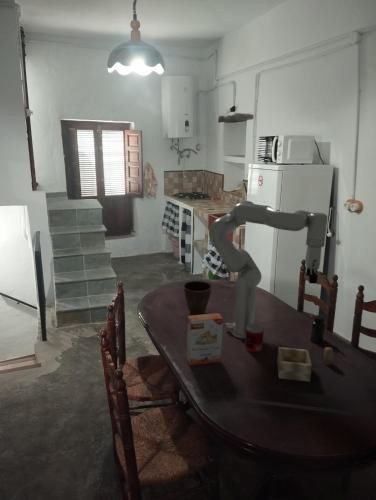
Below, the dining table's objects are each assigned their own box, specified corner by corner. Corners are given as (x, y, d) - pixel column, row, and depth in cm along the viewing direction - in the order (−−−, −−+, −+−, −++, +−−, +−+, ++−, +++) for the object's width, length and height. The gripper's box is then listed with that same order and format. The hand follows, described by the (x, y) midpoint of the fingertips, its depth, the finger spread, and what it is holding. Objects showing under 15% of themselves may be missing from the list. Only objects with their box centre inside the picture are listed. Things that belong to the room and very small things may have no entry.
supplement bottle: (325, 344, 181) (328, 321, 178) (310, 342, 182) (312, 319, 179) (323, 337, 188) (326, 314, 184) (308, 335, 189) (311, 313, 186)
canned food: (263, 346, 178) (264, 325, 175) (260, 355, 171) (262, 333, 168) (246, 343, 180) (248, 322, 177) (243, 352, 173) (244, 330, 170)
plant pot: (211, 319, 204) (212, 291, 200) (183, 318, 205) (183, 290, 200) (210, 307, 219) (210, 281, 215) (183, 307, 219) (184, 280, 215)
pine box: (278, 380, 153) (280, 362, 151) (276, 363, 164) (278, 347, 162) (309, 383, 151) (311, 365, 149) (305, 366, 163) (307, 349, 160)
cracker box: (189, 366, 161) (190, 321, 155) (186, 359, 167) (187, 315, 161) (221, 362, 164) (223, 318, 159) (217, 355, 170) (218, 312, 164)
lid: (312, 373, 159) (315, 355, 157) (308, 356, 171) (310, 340, 169) (345, 376, 157) (348, 358, 155) (339, 359, 169) (341, 343, 167)
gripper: (303, 236, 174) (300, 272, 178) (308, 246, 157) (304, 285, 162) (321, 237, 172) (317, 273, 177) (328, 247, 156) (323, 287, 161)
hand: (311, 279), depth 169 cm, fingers open, 9 cm apart
